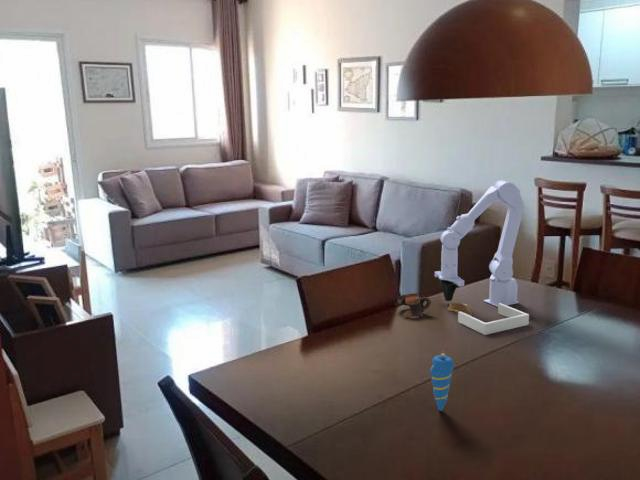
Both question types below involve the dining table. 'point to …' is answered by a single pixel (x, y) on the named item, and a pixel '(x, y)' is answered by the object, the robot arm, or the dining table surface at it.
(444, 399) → the ornament
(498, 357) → the dining table surface
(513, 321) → the box
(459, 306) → the shard
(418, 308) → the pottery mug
